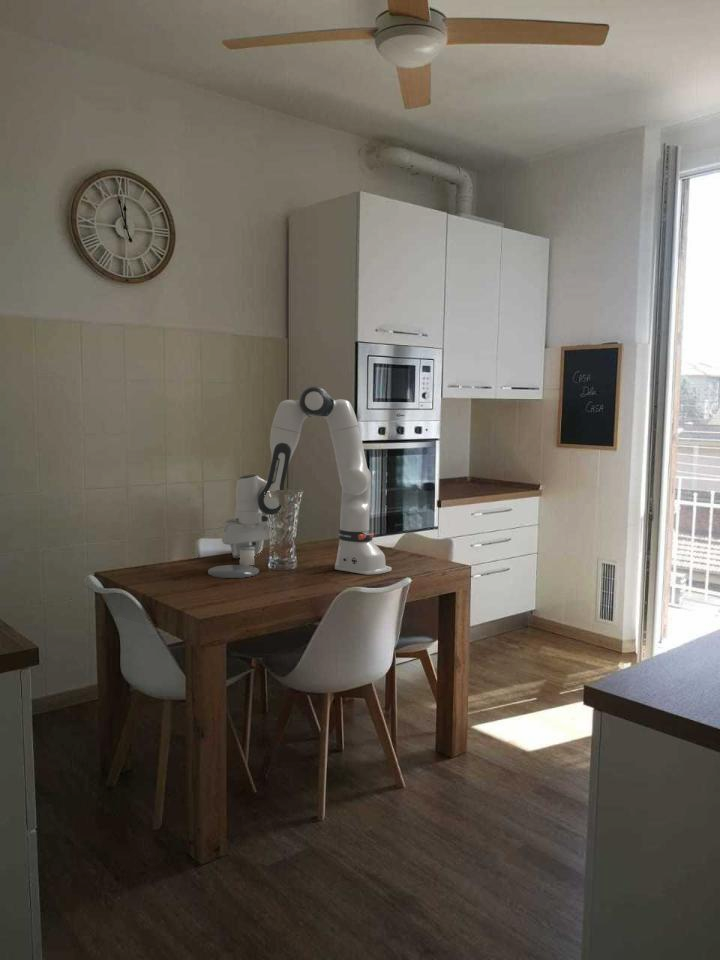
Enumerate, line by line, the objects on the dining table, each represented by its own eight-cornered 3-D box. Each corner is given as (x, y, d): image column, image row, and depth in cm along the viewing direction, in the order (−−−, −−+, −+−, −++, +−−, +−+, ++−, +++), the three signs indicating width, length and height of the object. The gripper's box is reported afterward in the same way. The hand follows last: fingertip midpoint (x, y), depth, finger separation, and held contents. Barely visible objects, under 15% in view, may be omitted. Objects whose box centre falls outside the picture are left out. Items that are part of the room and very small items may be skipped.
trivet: (269, 573, 275) (269, 571, 275) (227, 581, 263) (227, 578, 263) (238, 565, 288) (238, 562, 288) (198, 572, 275) (198, 569, 275)
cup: (257, 565, 289) (258, 547, 289) (245, 567, 285) (245, 548, 285) (248, 562, 293) (248, 544, 293) (236, 564, 289) (236, 546, 289)
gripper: (229, 520, 278) (227, 558, 280) (273, 516, 293) (271, 552, 294) (218, 518, 283) (217, 555, 284) (262, 514, 297) (261, 549, 298)
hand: (245, 553), depth 289 cm, fingers open, 8 cm apart
